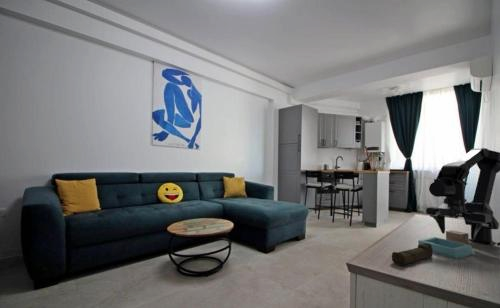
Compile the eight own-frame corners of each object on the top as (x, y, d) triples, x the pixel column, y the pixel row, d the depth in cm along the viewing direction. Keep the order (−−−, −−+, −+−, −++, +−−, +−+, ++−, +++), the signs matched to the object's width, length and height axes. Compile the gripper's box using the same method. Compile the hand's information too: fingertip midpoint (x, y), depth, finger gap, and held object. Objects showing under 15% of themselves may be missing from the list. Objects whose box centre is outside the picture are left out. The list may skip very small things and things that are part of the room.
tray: (435, 244, 88) (434, 237, 88) (472, 254, 78) (471, 245, 79) (418, 248, 84) (418, 240, 84) (455, 259, 74) (455, 249, 74)
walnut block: (453, 242, 92) (452, 230, 92) (469, 246, 87) (468, 233, 88) (446, 244, 90) (445, 231, 90) (462, 248, 85) (461, 234, 86)
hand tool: (404, 268, 66) (404, 252, 66) (391, 263, 70) (390, 248, 70) (441, 259, 74) (441, 245, 74) (427, 255, 77) (427, 241, 78)
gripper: (417, 194, 95) (419, 232, 94) (476, 199, 78) (479, 246, 77) (432, 193, 100) (434, 230, 99) (490, 198, 83) (494, 242, 82)
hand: (457, 236), depth 89 cm, fingers open, 9 cm apart
